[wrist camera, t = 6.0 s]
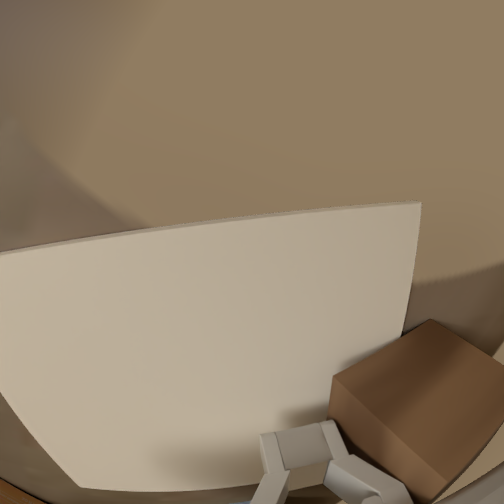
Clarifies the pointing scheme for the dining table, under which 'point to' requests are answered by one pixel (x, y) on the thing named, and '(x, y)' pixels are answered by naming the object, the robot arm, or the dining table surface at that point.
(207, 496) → the dining table surface
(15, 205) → the dining table surface
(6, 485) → the small box
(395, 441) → the block
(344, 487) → the robot arm
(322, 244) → the cream flat square panel
